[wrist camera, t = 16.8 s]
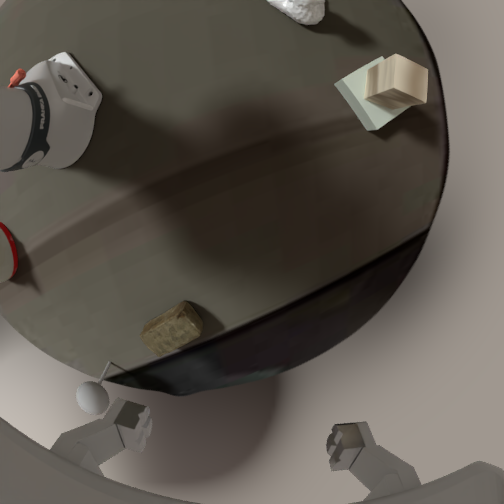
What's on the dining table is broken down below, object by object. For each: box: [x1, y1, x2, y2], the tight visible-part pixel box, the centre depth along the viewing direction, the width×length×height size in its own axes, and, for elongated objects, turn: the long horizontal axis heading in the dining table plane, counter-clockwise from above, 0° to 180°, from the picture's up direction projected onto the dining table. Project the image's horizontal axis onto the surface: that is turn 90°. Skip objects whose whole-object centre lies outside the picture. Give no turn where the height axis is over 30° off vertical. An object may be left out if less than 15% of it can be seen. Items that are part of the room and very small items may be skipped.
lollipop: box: [76, 361, 111, 415], centre depth 44 cm, size 7×7×15 cm
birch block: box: [364, 54, 428, 110], centre depth 27 cm, size 5×5×9 cm
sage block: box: [334, 56, 410, 131], centre depth 33 cm, size 9×9×4 cm
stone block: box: [140, 301, 203, 357], centre depth 46 cm, size 6×12×5 cm, turn 124°
